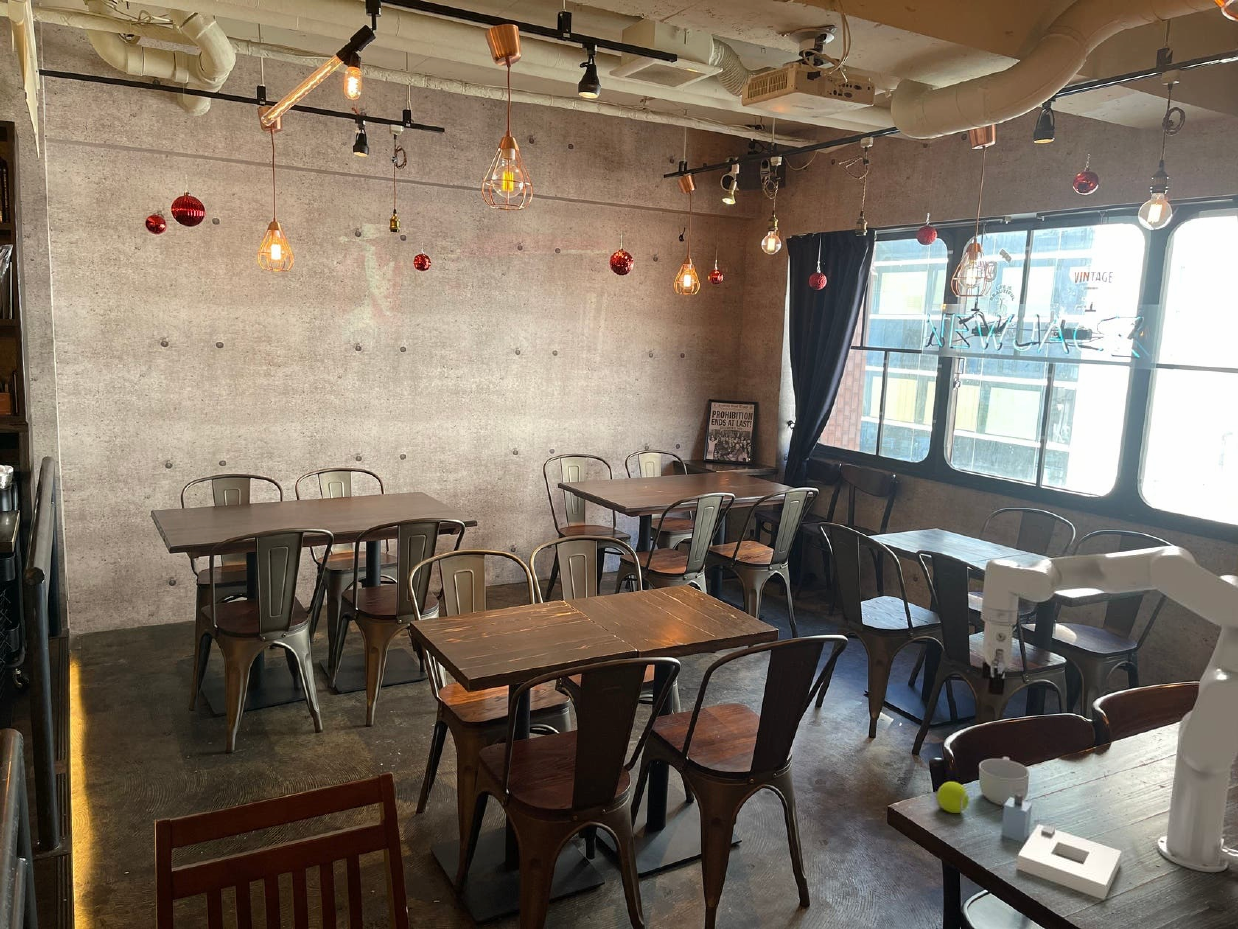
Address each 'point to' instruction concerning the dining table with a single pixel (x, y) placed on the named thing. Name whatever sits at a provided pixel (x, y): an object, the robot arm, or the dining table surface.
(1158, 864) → the dining table surface
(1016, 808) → the plug
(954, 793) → the tennis ball
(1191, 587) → the robot arm
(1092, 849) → the socket
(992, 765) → the teacup
